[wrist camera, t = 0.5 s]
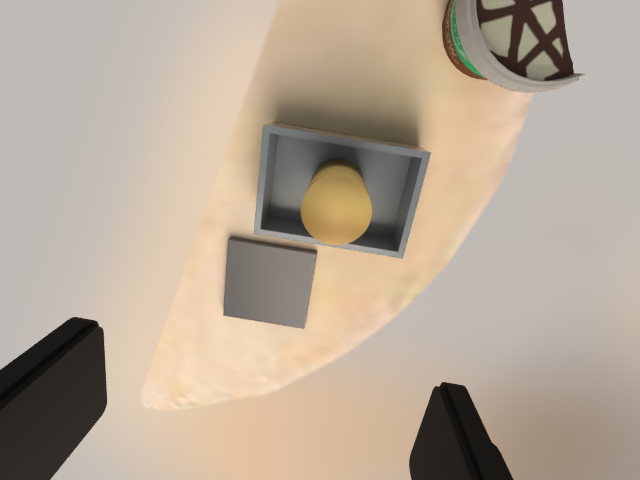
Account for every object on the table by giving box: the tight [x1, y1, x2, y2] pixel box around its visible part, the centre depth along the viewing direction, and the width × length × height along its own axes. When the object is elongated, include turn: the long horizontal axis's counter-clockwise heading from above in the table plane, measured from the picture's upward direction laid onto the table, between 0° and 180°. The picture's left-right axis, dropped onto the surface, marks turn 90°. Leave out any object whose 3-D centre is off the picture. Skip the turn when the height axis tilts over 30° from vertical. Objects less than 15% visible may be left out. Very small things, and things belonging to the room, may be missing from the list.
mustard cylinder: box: [301, 158, 372, 245], centre depth 32 cm, size 6×6×10 cm
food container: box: [442, 0, 585, 93], centre depth 27 cm, size 12×6×10 cm, turn 24°
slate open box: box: [254, 123, 431, 259], centre depth 34 cm, size 10×15×5 cm
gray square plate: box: [223, 237, 317, 329], centre depth 41 cm, size 10×10×1 cm
